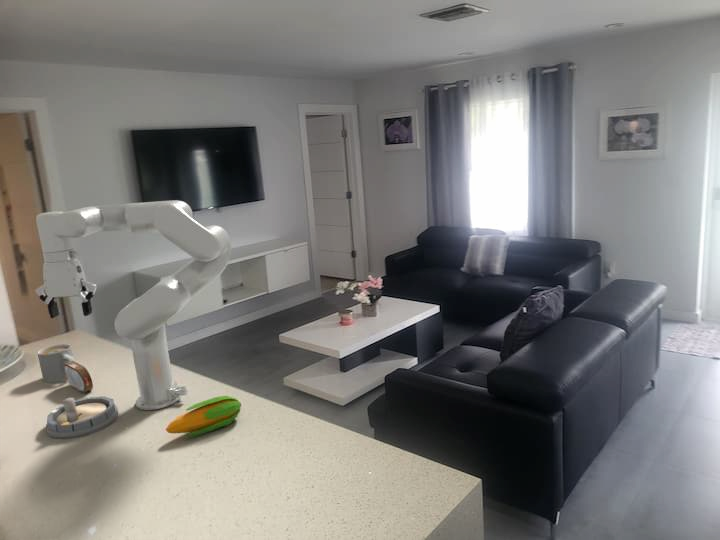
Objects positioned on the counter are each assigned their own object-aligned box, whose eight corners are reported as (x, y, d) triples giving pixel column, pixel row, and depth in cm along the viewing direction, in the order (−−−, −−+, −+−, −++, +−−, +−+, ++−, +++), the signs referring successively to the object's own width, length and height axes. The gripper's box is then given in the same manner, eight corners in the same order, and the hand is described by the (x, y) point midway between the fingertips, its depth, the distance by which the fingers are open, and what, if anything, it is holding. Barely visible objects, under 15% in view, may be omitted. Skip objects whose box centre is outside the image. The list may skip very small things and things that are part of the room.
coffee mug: (38, 379, 187) (32, 351, 185) (67, 368, 195) (62, 342, 193) (56, 387, 179) (50, 358, 177) (86, 376, 187) (80, 348, 185)
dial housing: (129, 405, 161) (127, 393, 161) (98, 437, 144) (95, 424, 143) (70, 408, 163) (68, 396, 162) (32, 440, 145) (29, 427, 144)
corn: (244, 394, 145) (167, 420, 134) (248, 421, 146) (173, 449, 135) (233, 387, 151) (159, 411, 140) (237, 413, 152) (164, 439, 141)
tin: (95, 392, 173) (90, 367, 171) (85, 396, 171) (80, 370, 169) (75, 381, 183) (70, 358, 181) (65, 385, 180) (60, 361, 179)
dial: (75, 406, 160) (71, 384, 158) (115, 405, 158) (111, 383, 157) (47, 428, 148) (41, 404, 146) (90, 427, 146) (85, 403, 145)
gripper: (96, 251, 155) (107, 309, 159) (37, 256, 156) (50, 313, 160) (82, 257, 148) (94, 318, 152) (20, 261, 149) (34, 321, 153)
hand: (71, 315), depth 156 cm, fingers open, 9 cm apart
